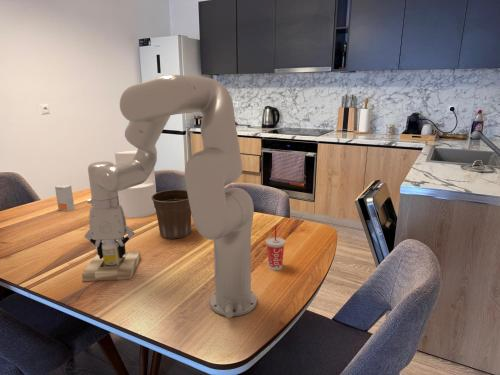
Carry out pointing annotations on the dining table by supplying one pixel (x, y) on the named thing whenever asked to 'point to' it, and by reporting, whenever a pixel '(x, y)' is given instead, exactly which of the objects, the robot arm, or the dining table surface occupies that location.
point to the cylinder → (136, 192)
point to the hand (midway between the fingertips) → (112, 256)
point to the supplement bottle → (111, 253)
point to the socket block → (112, 268)
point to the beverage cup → (275, 252)
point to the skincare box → (64, 197)
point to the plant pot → (173, 213)
